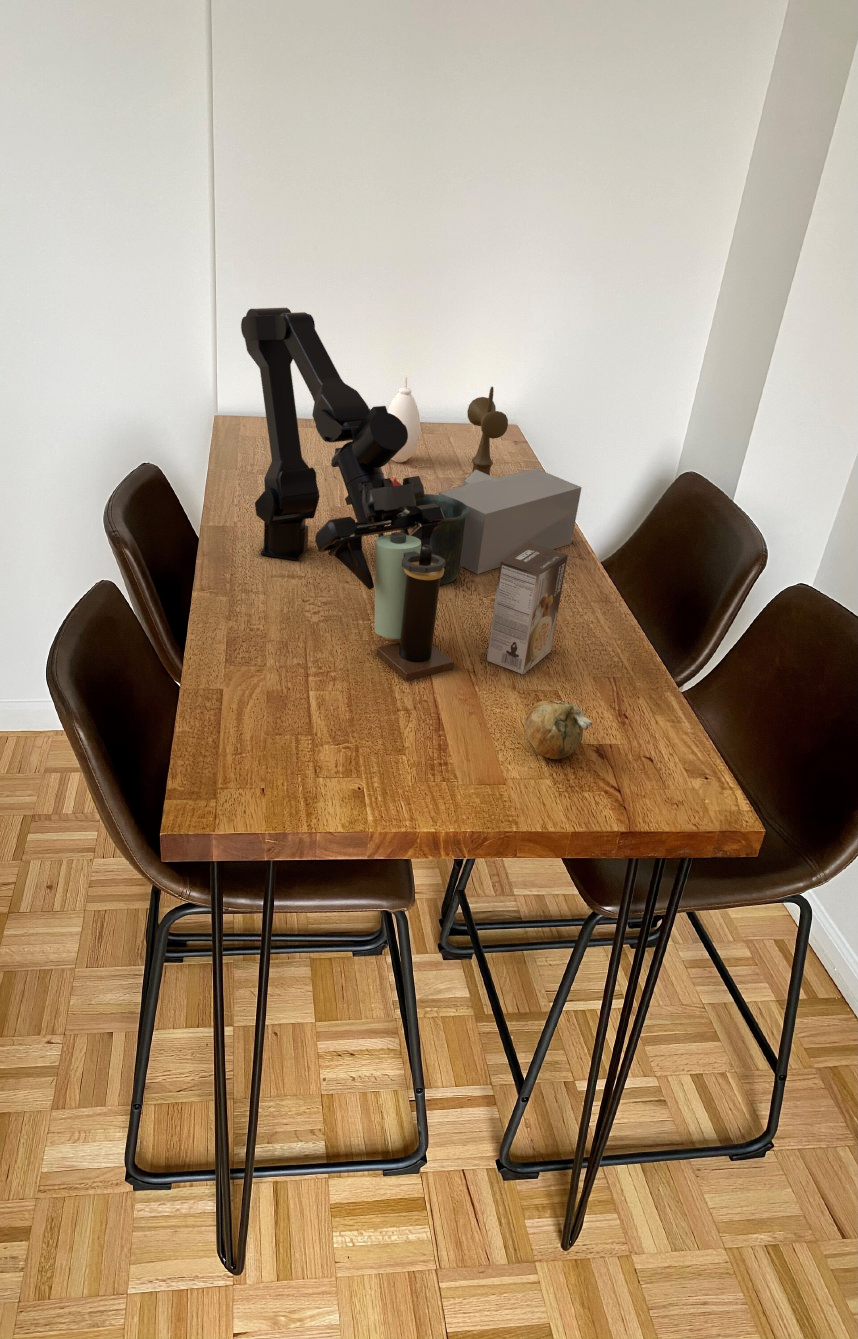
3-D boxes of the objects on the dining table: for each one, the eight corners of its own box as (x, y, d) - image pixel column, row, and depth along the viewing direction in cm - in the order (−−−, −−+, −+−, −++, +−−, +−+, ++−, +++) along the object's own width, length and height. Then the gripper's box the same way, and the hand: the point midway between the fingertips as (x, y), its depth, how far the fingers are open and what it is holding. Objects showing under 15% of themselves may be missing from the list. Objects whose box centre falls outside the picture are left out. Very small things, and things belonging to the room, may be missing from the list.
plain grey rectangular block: (480, 501, 207) (487, 447, 201) (571, 543, 193) (581, 487, 187) (385, 526, 191) (390, 469, 185) (477, 574, 177) (485, 514, 171)
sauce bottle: (416, 469, 219) (425, 383, 210) (379, 465, 218) (386, 379, 209) (417, 456, 225) (425, 372, 216) (381, 453, 225) (387, 369, 216)
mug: (460, 591, 171) (469, 522, 165) (371, 582, 170) (377, 513, 164) (461, 563, 180) (469, 497, 174) (376, 554, 180) (381, 488, 174)
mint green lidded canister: (366, 626, 153) (367, 531, 147) (404, 618, 156) (406, 525, 150) (411, 659, 143) (413, 558, 137) (450, 650, 146) (455, 551, 140)
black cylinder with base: (375, 654, 150) (385, 538, 141) (422, 643, 154) (434, 529, 145) (405, 681, 145) (418, 561, 136) (453, 668, 149) (468, 552, 140)
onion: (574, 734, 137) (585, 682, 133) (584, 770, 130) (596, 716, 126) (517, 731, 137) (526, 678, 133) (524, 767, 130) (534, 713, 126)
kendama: (486, 474, 220) (498, 379, 210) (500, 491, 212) (514, 393, 202) (458, 474, 218) (470, 378, 208) (472, 492, 210) (485, 393, 200)
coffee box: (514, 638, 159) (529, 540, 151) (551, 652, 156) (570, 553, 148) (484, 661, 152) (499, 560, 144) (523, 676, 149) (541, 574, 141)
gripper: (329, 464, 139) (366, 573, 137) (445, 450, 148) (481, 552, 146) (299, 499, 148) (333, 601, 146) (409, 483, 158) (443, 579, 156)
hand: (399, 583), depth 148 cm, fingers open, 9 cm apart
